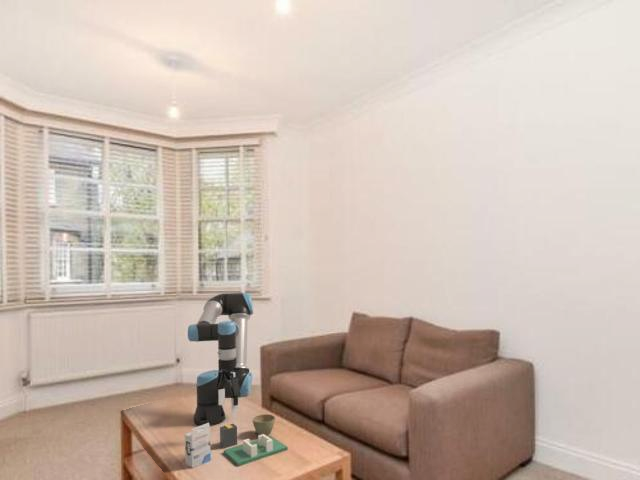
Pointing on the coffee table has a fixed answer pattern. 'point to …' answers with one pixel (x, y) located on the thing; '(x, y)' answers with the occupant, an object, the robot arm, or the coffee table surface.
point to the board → (254, 450)
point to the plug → (228, 435)
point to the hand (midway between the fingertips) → (228, 408)
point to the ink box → (197, 446)
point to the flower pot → (264, 424)
